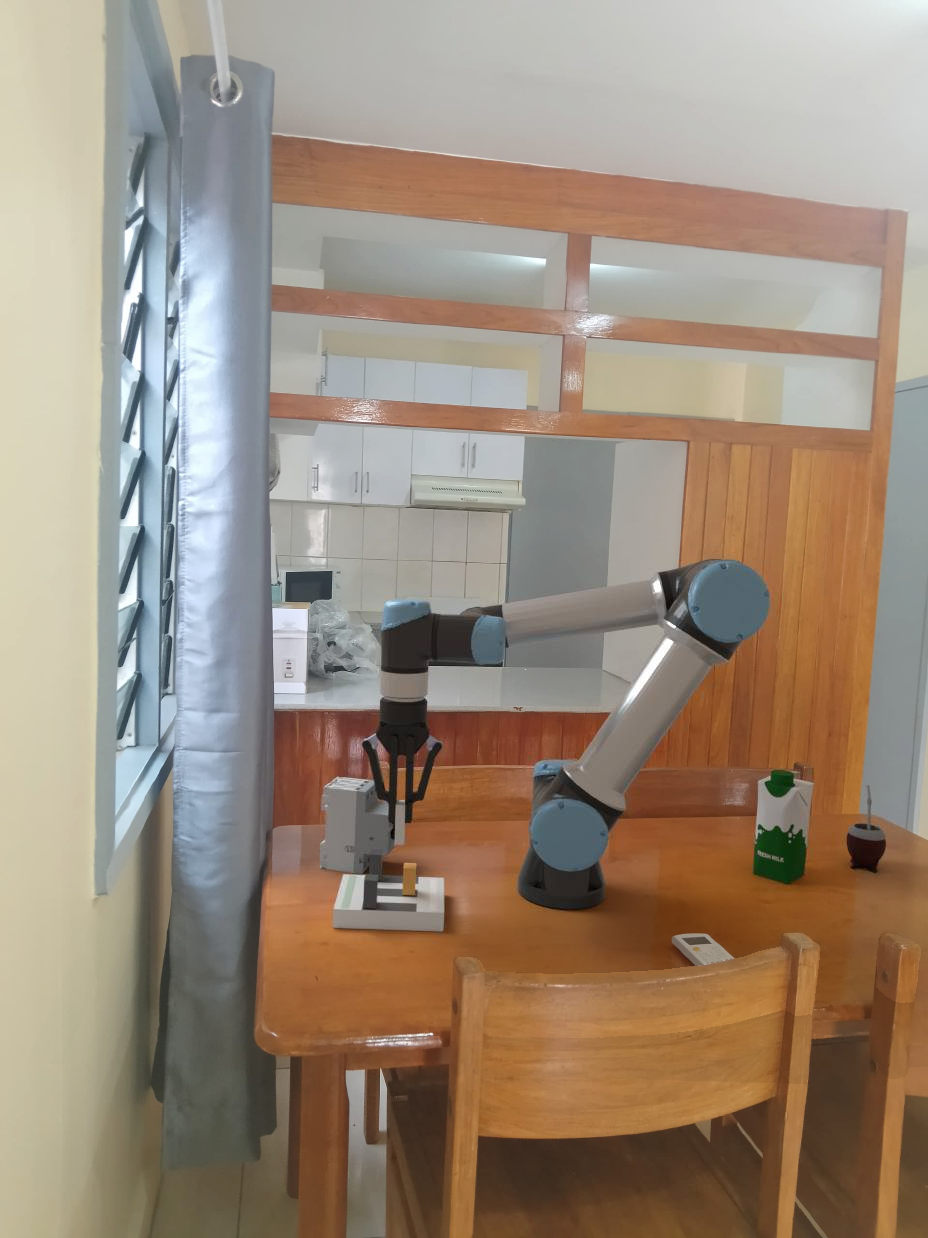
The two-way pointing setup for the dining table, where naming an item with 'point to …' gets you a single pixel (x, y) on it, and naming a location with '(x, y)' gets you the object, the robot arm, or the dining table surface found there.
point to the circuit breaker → (354, 825)
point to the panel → (391, 905)
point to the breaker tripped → (409, 878)
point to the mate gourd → (866, 843)
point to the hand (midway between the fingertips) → (399, 842)
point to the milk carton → (782, 826)
